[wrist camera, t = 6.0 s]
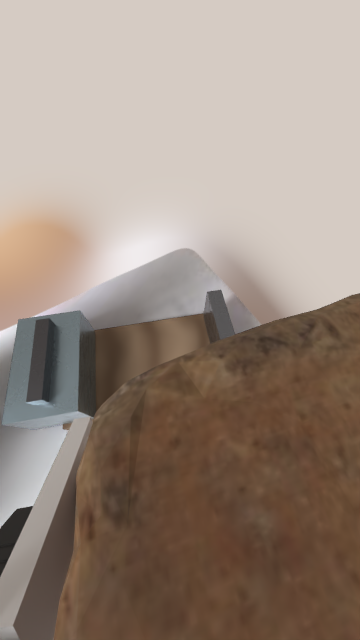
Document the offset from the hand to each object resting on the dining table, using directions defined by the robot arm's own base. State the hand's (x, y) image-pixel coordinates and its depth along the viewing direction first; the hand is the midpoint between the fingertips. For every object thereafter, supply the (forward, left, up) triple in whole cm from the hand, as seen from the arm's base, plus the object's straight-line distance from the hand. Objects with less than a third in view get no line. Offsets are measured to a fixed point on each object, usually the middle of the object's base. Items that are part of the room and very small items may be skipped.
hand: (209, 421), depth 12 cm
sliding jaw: (-16, +11, -22) cm, 29 cm away
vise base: (-5, +11, -24) cm, 27 cm away
